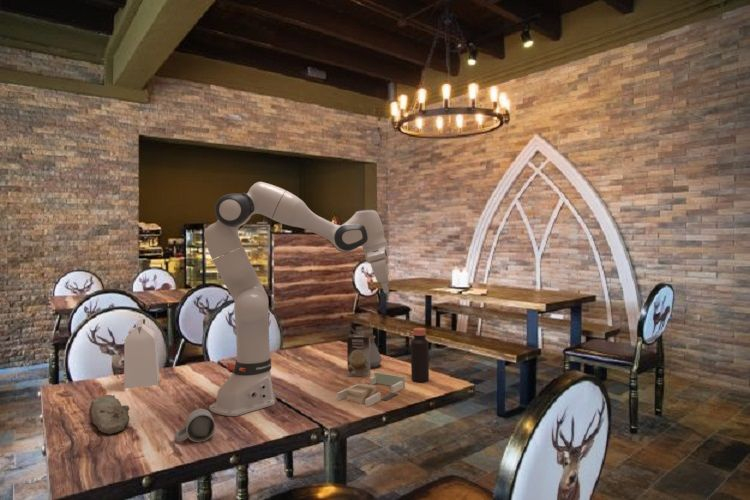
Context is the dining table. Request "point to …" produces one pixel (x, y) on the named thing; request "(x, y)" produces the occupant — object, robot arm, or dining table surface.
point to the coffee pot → (372, 351)
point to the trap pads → (388, 396)
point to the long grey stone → (109, 414)
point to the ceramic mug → (197, 427)
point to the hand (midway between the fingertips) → (387, 290)
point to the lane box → (380, 378)
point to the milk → (140, 357)
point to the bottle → (419, 356)
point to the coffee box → (358, 355)
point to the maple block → (361, 393)
